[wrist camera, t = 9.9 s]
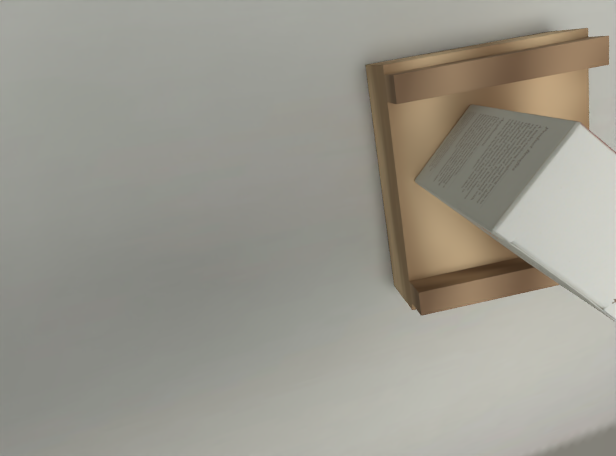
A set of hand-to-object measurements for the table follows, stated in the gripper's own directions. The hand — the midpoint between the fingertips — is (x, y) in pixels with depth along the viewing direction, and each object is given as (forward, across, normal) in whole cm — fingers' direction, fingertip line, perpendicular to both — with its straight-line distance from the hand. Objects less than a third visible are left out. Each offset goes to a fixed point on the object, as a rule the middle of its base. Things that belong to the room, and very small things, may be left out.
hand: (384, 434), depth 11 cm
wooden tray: (+25, +14, -1) cm, 29 cm away
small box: (+21, +13, -1) cm, 25 cm away
